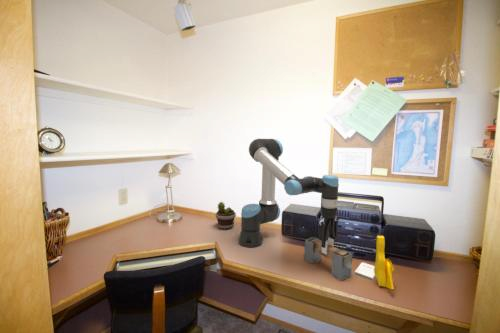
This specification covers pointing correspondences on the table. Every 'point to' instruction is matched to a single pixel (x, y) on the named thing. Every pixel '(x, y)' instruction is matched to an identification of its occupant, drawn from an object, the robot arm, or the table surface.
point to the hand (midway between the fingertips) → (327, 251)
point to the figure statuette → (383, 265)
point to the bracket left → (311, 252)
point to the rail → (329, 250)
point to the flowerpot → (225, 217)
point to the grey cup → (342, 266)
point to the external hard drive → (365, 271)
